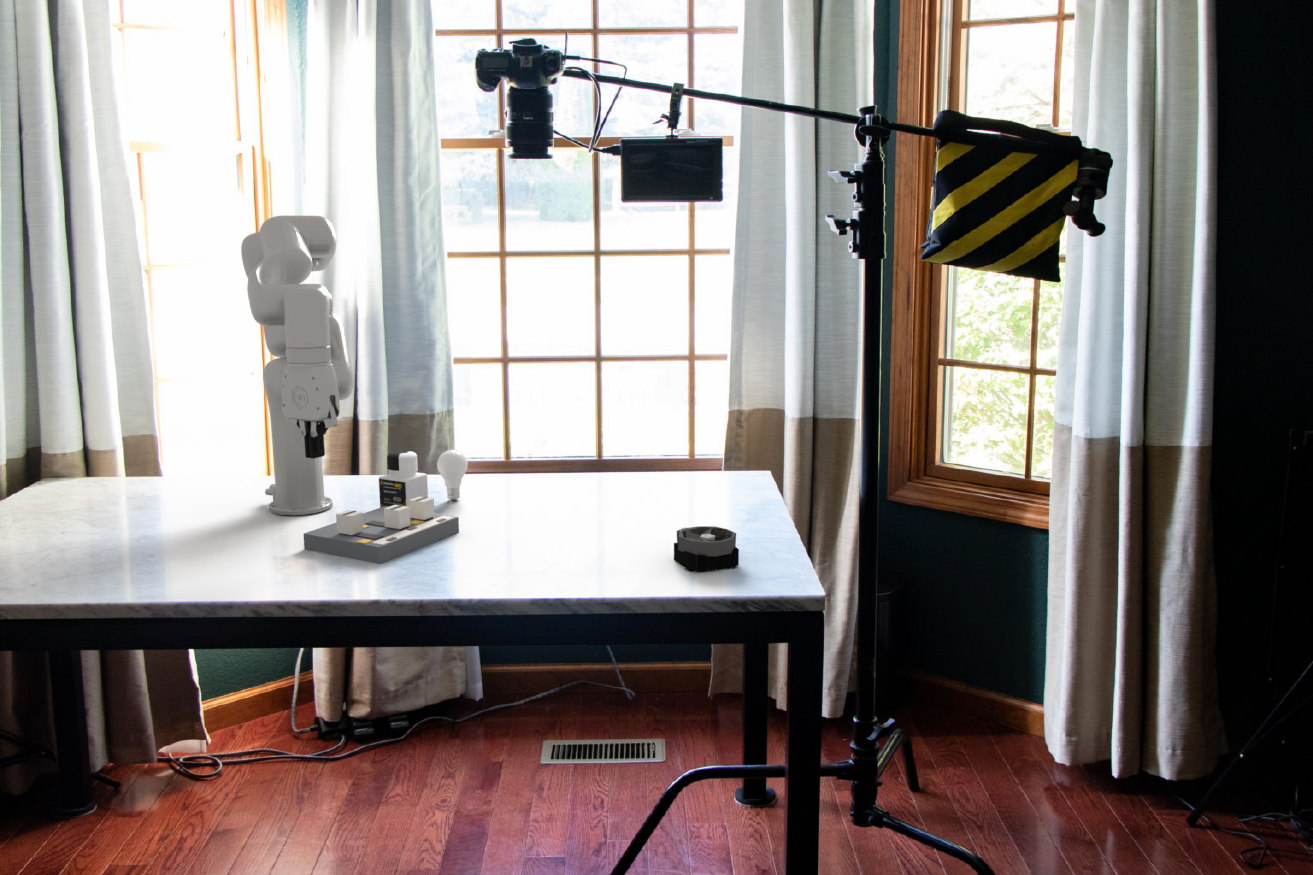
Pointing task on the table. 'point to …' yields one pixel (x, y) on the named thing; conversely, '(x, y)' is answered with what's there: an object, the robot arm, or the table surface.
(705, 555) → the cpu cooler
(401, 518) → the switch
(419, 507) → the switch
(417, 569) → the table surface
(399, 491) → the medicine bottle
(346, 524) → the switch
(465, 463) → the lightbulb
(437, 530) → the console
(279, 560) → the table surface
